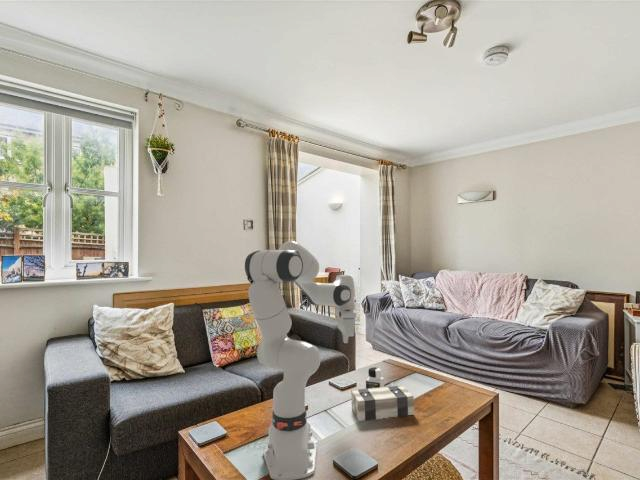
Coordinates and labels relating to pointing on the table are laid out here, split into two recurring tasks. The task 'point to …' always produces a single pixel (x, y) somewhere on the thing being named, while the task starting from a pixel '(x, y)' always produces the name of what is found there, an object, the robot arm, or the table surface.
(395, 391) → the peg
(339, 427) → the table surface
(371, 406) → the block
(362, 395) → the peg
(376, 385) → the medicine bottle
